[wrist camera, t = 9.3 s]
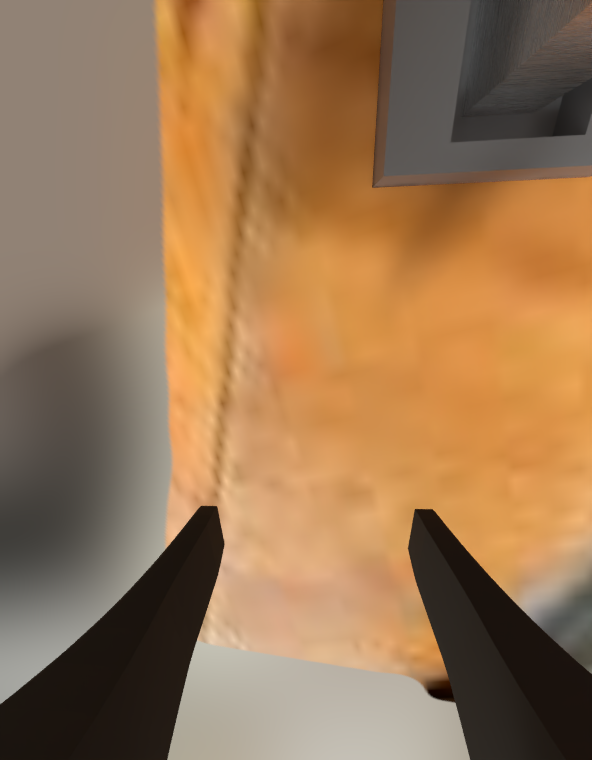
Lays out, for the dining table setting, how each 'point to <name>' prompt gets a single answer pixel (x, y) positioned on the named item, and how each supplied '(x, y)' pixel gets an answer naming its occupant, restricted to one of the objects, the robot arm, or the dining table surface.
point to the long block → (527, 55)
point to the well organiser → (444, 109)
